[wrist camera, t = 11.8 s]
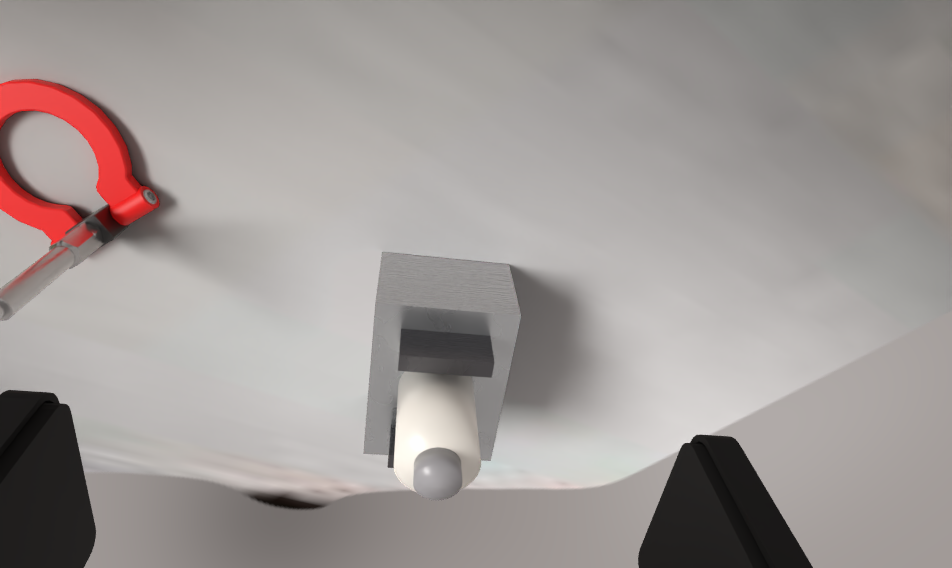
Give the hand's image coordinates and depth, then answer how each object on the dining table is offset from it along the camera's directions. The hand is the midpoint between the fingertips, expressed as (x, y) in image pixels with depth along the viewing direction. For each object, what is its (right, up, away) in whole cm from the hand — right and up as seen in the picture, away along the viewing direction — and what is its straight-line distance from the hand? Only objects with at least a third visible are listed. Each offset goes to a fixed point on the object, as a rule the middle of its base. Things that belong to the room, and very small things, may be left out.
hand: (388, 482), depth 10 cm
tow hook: (-22, +10, +26) cm, 35 cm away
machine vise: (-1, -1, +33) cm, 33 cm away
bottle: (-1, -3, +27) cm, 28 cm away
